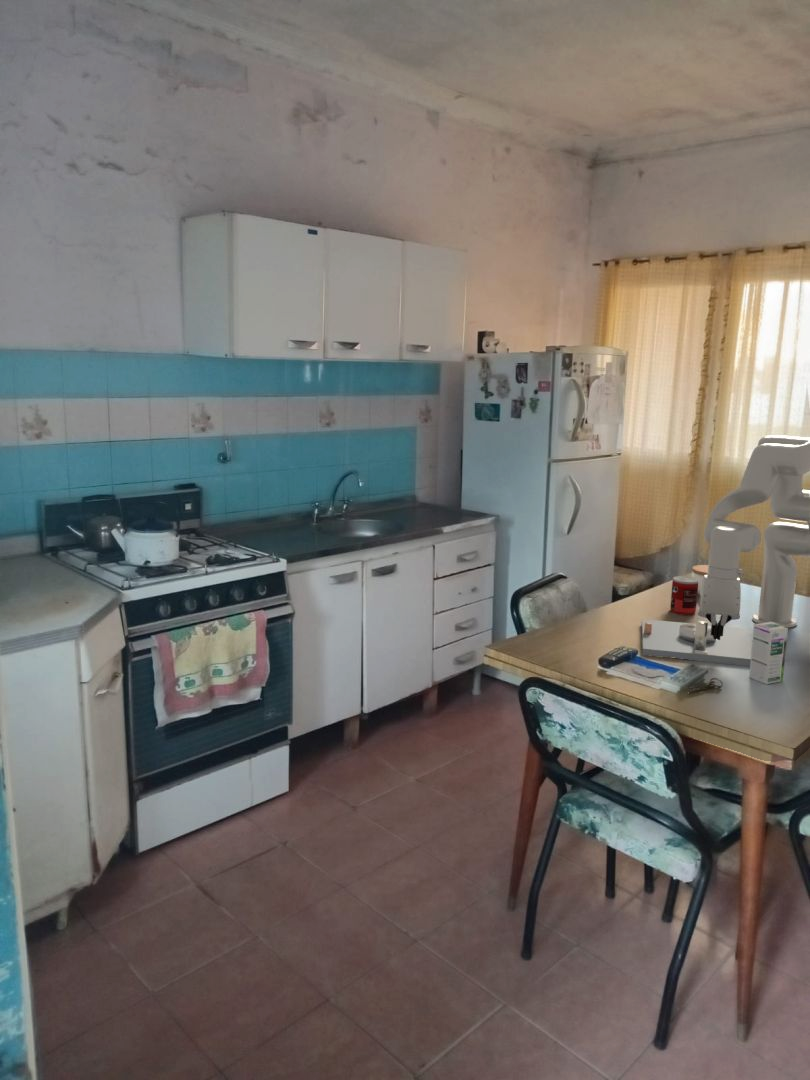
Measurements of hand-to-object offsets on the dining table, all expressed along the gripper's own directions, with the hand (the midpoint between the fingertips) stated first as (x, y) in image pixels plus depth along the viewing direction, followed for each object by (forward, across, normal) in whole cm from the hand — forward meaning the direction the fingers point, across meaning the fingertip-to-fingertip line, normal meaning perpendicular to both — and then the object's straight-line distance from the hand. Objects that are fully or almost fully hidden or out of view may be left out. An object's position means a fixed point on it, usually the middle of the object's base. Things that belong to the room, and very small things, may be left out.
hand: (716, 638), depth 223 cm
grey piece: (+3, +4, -7) cm, 9 cm away
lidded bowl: (+6, -5, -68) cm, 68 cm away
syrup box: (+6, -11, +13) cm, 18 cm away
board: (+6, +4, -10) cm, 12 cm away
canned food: (+6, +5, -43) cm, 44 cm away
